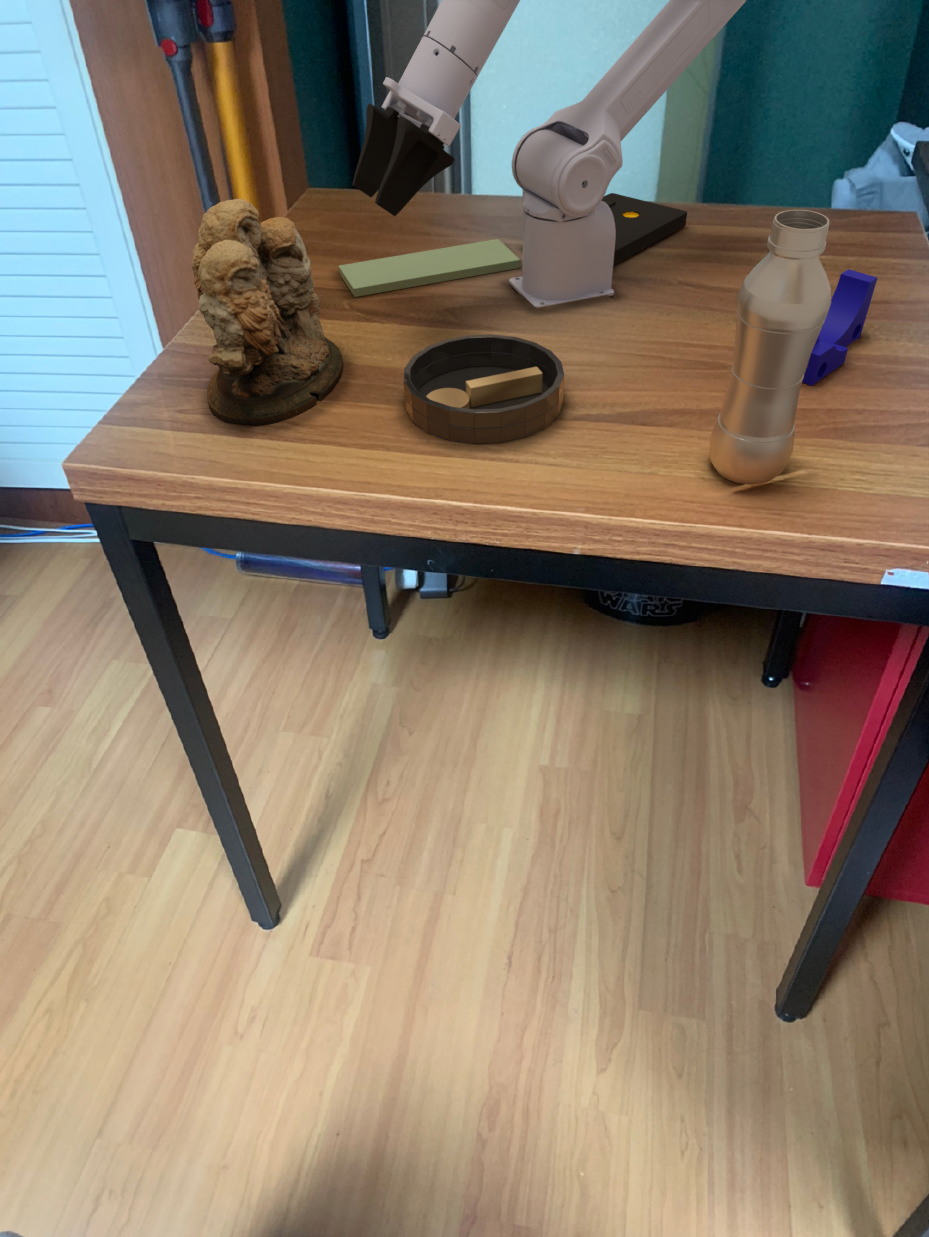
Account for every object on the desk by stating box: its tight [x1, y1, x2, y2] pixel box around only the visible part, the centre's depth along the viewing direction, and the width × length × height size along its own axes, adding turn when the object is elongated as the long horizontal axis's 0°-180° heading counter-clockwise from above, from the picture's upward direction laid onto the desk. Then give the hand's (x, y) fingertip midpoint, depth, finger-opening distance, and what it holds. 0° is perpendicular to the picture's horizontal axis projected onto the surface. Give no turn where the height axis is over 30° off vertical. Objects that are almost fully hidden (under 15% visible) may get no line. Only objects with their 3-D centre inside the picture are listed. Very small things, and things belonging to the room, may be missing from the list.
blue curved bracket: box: [802, 268, 878, 387], centre depth 85 cm, size 12×4×6 cm, turn 134°
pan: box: [403, 333, 565, 445], centre depth 80 cm, size 14×14×4 cm
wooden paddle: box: [426, 367, 543, 409], centre depth 80 cm, size 11×4×2 cm, turn 110°
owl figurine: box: [191, 198, 344, 427], centre depth 79 cm, size 18×12×17 cm, turn 169°
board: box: [338, 238, 521, 298], centre depth 104 cm, size 20×7×1 cm, turn 110°
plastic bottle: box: [709, 209, 832, 486], centre depth 66 cm, size 6×7×20 cm
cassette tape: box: [601, 192, 688, 266], centre depth 109 cm, size 18×12×2 cm, turn 138°
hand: (372, 200), depth 83 cm, fingers open, 7 cm apart
